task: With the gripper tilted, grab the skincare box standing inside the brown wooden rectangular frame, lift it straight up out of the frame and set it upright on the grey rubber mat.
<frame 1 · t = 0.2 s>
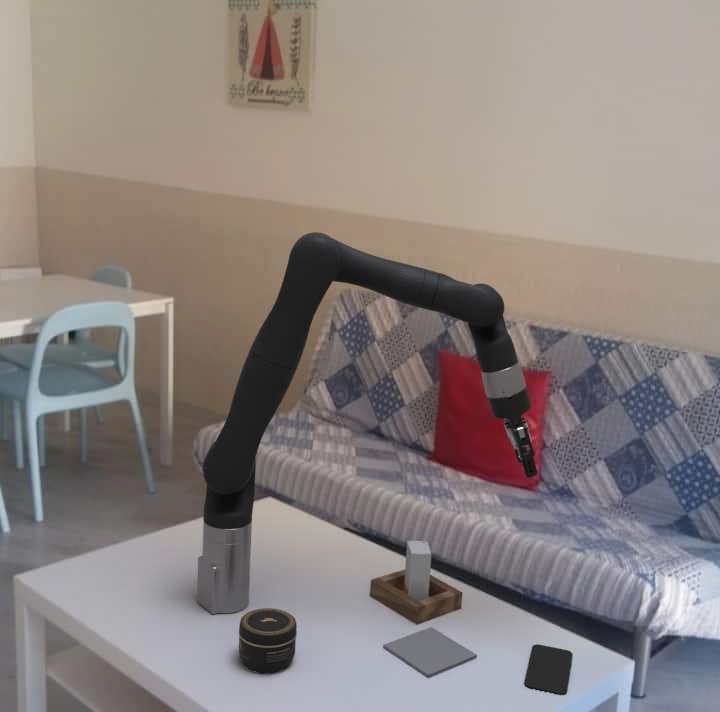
hand: (527, 468, 182), 31 cm above the table, tool tilted 20°, fingers open, 8 cm apart
skincare box: (414, 603, 194), resting in brown wooden rectangular frame
rubber mat: (429, 652, 175), on the table
phone: (548, 672, 172), on the table
jar: (266, 661, 169), on the table
brown wooden rectangular frame: (415, 602, 194), on the table
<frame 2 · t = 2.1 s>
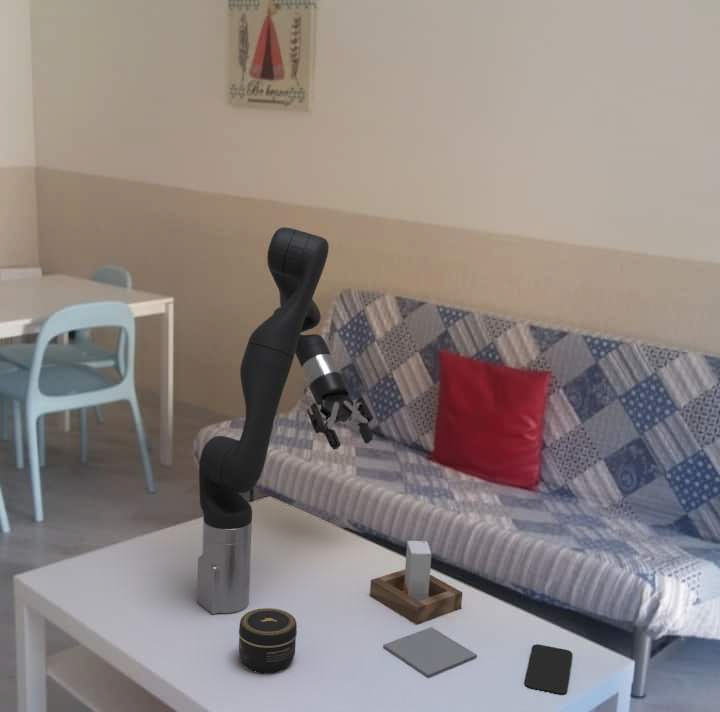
hand: (353, 444, 204), 27 cm above the table, tool tilted 45°, fingers open, 8 cm apart
nothing on the table moved.
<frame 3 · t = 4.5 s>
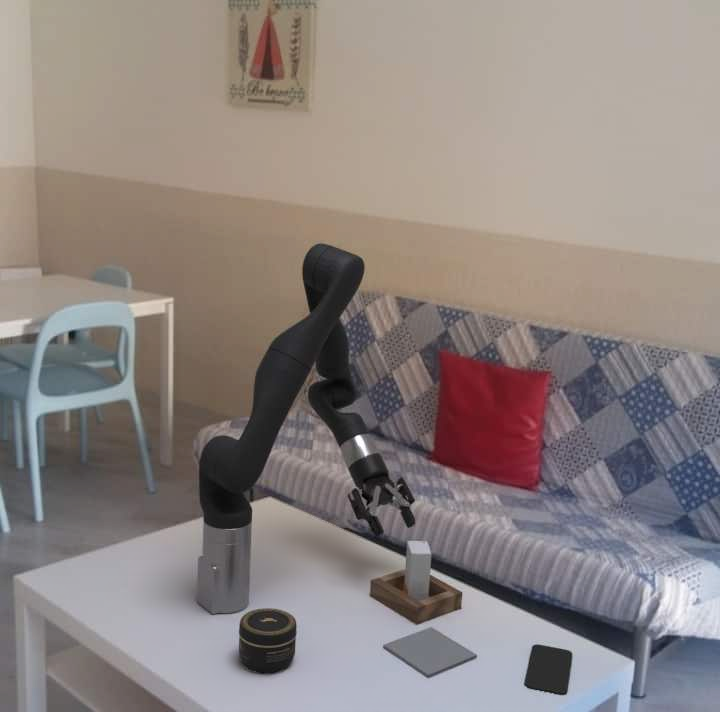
hand: (396, 530, 196), 13 cm above the table, tool tilted 45°, fingers open, 8 cm apart
nothing on the table moved.
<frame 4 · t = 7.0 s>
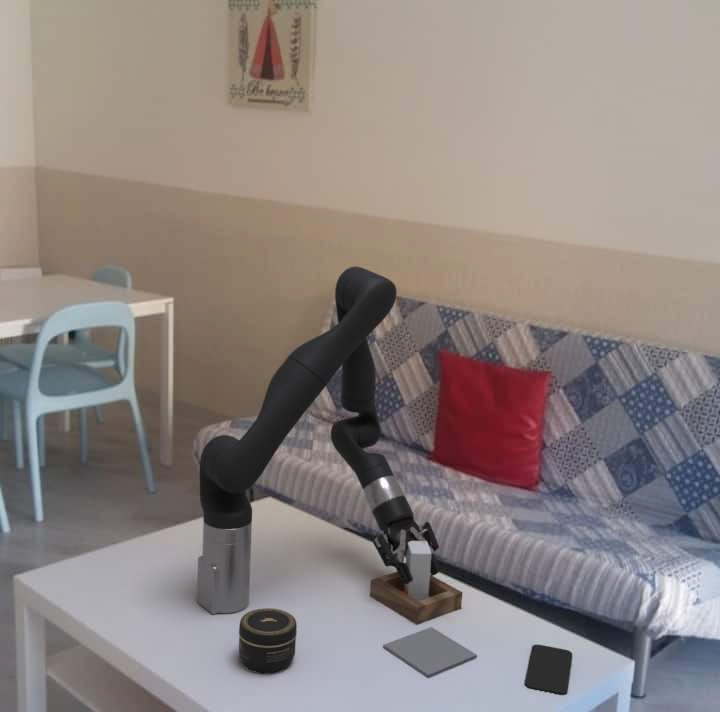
hand: (422, 577, 191), 6 cm above the table, tool tilted 45°, fingers closed on skincare box, 6 cm apart
skincare box: (415, 603, 194), resting in brown wooden rectangular frame, touching gripper
everything else where it was.
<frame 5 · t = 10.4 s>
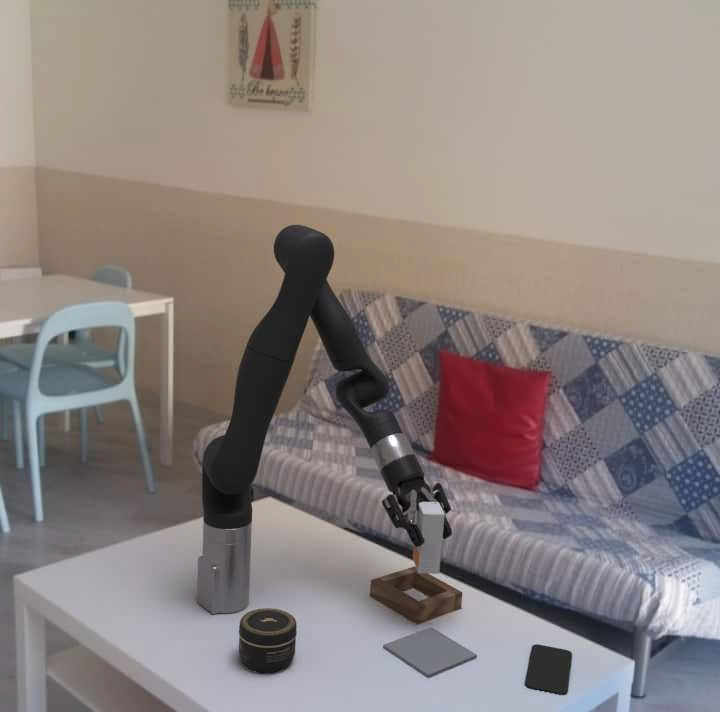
hand: (434, 540, 180), 18 cm above the table, tool tilted 45°, fingers closed on skincare box, 6 cm apart
skincare box: (425, 568, 182), point 12 cm above the table, touching gripper
everything else where it was.
when the fingers open (8 cm above the table, at t = 14.0 s): skincare box drops 1 cm, resting on rubber mat.
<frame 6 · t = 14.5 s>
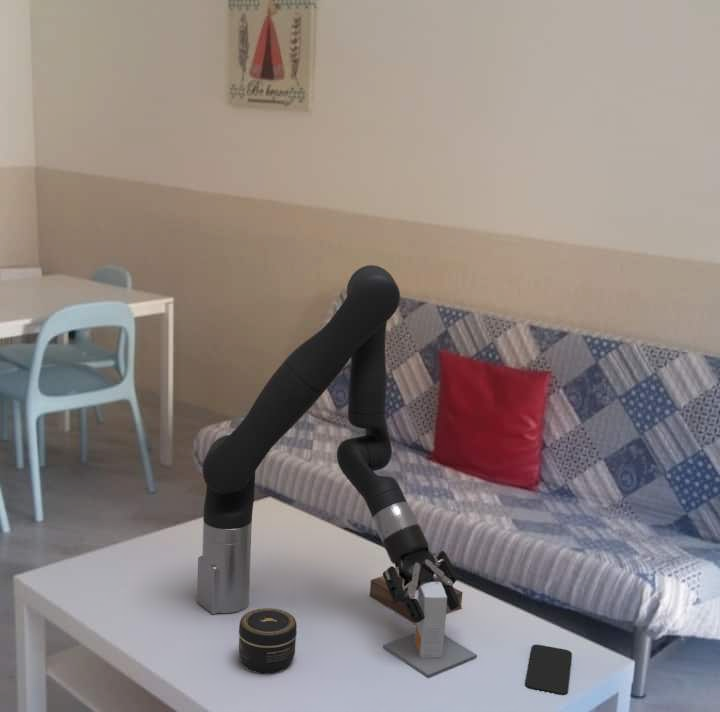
hand: (438, 614, 172), 8 cm above the table, tool tilted 45°, fingers open, 8 cm apart
skincare box: (428, 650, 175), resting on rubber mat
everything else where it was.
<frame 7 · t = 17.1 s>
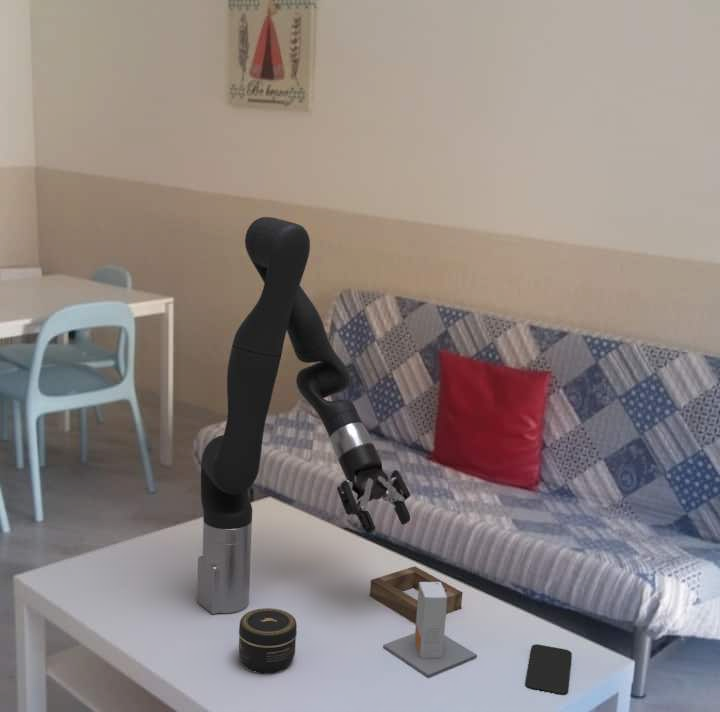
hand: (389, 527, 181), 19 cm above the table, tool tilted 45°, fingers open, 8 cm apart
nothing on the table moved.
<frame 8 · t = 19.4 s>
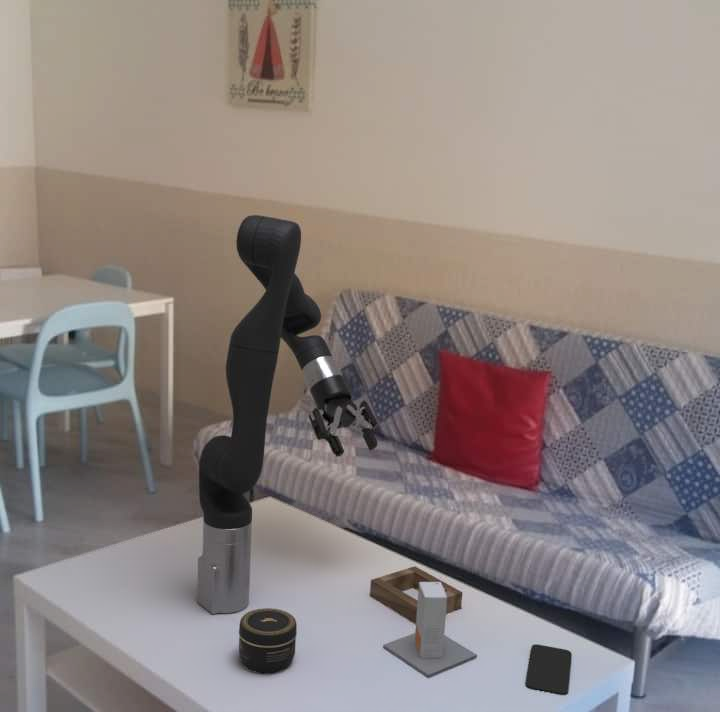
hand: (357, 451, 194), 29 cm above the table, tool tilted 45°, fingers open, 8 cm apart
nothing on the table moved.
at the end: skincare box inside the target area (0.3 cm from its centre), resting on rubber mat; skincare box tilted 0°; the gripper is holding nothing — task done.
